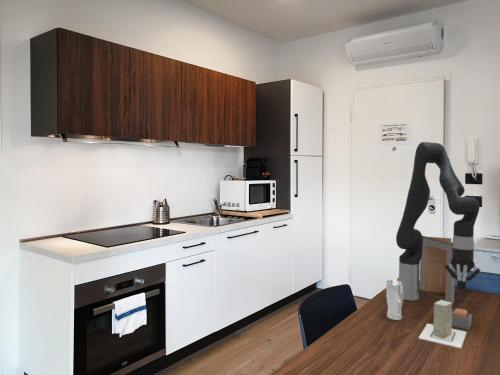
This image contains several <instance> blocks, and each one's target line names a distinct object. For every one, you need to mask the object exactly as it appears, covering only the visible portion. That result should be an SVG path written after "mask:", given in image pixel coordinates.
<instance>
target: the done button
mask: <svg viewBox="0 0 500 375" xmlns="http://www.w3.org/2000/svg"><path fill="white" fill-rule="evenodd" d="M453 311H454V316H457V317H462V318H467V314H468V309H463V308H457V307H455V309H454V310H453Z"/></svg>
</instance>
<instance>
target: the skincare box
mask: <svg viewBox="0 0 500 375" xmlns="http://www.w3.org/2000/svg"><path fill="white" fill-rule="evenodd" d="M452 311H453V304H452V302H448V301H444V300H441V299H439V300H437V301H436V302H434V304H433V325H434V327H433V335H436V336H439V337H443V338H445V337H447V336H449V335H450V334H451V330H452V329H453V326H452Z"/></svg>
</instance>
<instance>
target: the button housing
mask: <svg viewBox="0 0 500 375" xmlns="http://www.w3.org/2000/svg"><path fill="white" fill-rule="evenodd" d="M454 311H455V310H452V328H453V327H454V328H458V329H464V330H467V331H470V329H471V326H472V319H473V318H472V317H473V315H472V314H471V313H467V318H462V317H457V316H454Z"/></svg>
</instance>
